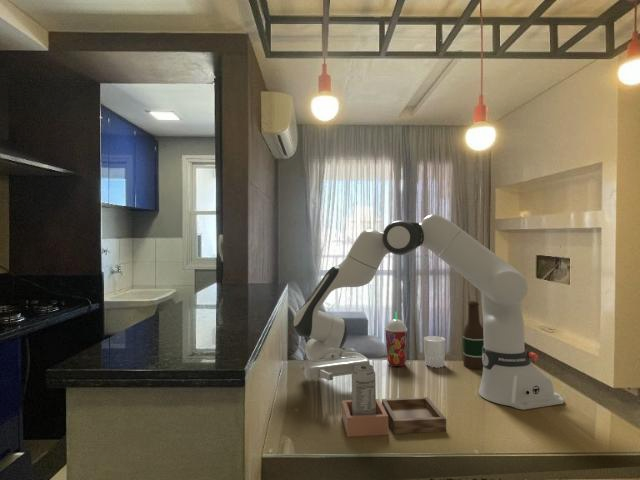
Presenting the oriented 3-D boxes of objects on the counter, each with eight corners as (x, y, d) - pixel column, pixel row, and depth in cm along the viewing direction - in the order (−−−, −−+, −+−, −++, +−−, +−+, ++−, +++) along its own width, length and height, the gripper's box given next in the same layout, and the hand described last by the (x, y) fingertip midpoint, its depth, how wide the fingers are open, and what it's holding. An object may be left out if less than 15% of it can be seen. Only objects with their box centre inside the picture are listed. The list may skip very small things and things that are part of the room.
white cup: (447, 369, 137) (446, 341, 137) (424, 368, 139) (424, 340, 139) (444, 362, 145) (443, 336, 145) (423, 361, 146) (422, 335, 146)
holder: (379, 415, 101) (378, 399, 101) (388, 434, 91) (388, 416, 91) (342, 417, 100) (341, 400, 100) (347, 436, 90) (347, 417, 90)
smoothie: (411, 363, 144) (410, 311, 144) (403, 369, 137) (402, 314, 137) (390, 360, 149) (389, 309, 149) (382, 365, 141) (381, 312, 142)
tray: (427, 407, 105) (427, 397, 105) (446, 430, 92) (445, 418, 92) (381, 409, 104) (381, 399, 104) (394, 433, 91) (393, 421, 91)
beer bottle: (458, 364, 142) (457, 301, 142) (474, 362, 145) (473, 299, 145) (474, 371, 134) (473, 304, 135) (490, 368, 138) (489, 302, 138)
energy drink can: (374, 419, 99) (373, 362, 99) (378, 431, 93) (377, 370, 93) (351, 420, 98) (350, 363, 99) (353, 432, 92) (352, 370, 93)
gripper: (297, 354, 116) (311, 368, 103) (358, 347, 123) (377, 360, 110) (298, 375, 116) (311, 391, 103) (358, 367, 123) (378, 381, 110)
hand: (346, 375), depth 107 cm, fingers open, 8 cm apart
